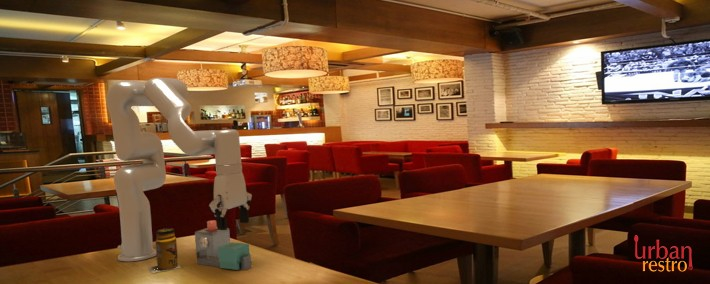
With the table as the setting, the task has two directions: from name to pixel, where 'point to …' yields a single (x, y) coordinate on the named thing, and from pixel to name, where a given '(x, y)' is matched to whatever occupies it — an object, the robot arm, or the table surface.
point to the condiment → (166, 251)
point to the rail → (214, 261)
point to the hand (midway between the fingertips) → (233, 226)
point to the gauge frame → (211, 240)
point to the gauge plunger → (211, 225)
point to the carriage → (232, 254)
